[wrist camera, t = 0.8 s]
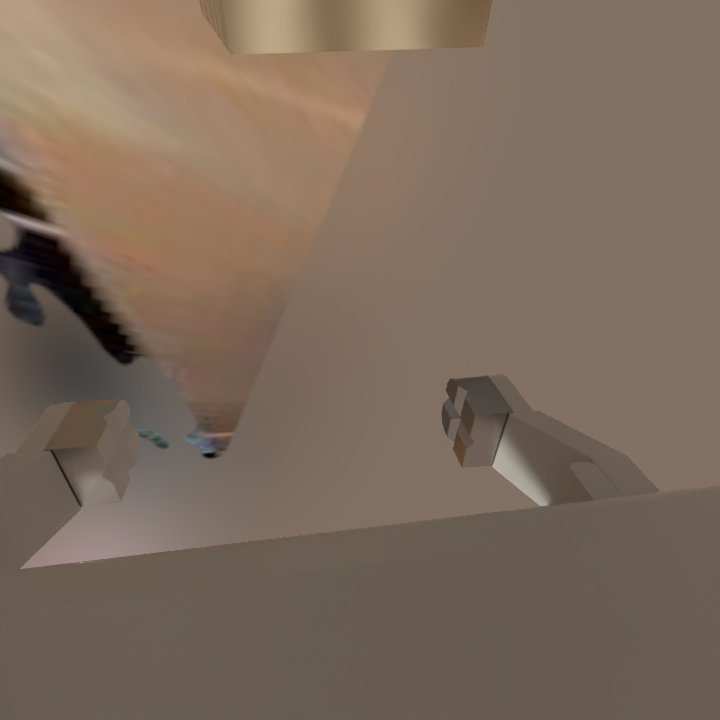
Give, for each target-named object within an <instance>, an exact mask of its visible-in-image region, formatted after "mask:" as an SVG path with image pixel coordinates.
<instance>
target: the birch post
mask: <svg viewBox="0 0 720 720" xmlns="http://www.w3.org/2000/svg"><path fill="white" fill-rule="evenodd" d="M200 3H201V8H202V13H203V15H204V16H205V18H206V19H207V21H208V22H209V24H210V25H211V26H212V28H213V29H214V31H215V32H216V34H217V35H218V37H219V38H220V40H221V41H222V42H223V44H224V45H225V47H226V48H227V50H228V51H229V53H230V54H263V53H298V52H332V51H367V50H401V49H436V48H470V47H484V43H485V37H486V32H487V26H488V20H489V14H490V8H491V3H492V0H200Z"/></svg>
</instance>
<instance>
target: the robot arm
mask: <svg viewBox="0 0 720 720" xmlns="http://www.w3.org/2000/svg"><path fill="white" fill-rule="evenodd" d="M446 392H447V394H448V396H449V398H448V399H447V400H446V401H445V402H444V403H443V408H442V424H443V427H444V431H445V433H446V435H447V437H448V438H450V439H451V440H453V441H454V446H453V450H454V452H455V454H456V456H457V459H458V461H459V463H460V465H461V467H462V468H464V467H478V466H491V465H493V466H492V467H493V468H494V469H496V470H497V471H498V472H499V473H500V474H502V475H503V476H504V477H505V478H507V479H508V480H509V481H510V482H511V483H513V484H514V485H515V486H516V487H518V488H519V489H520V490H521V491H523V492H524V493H525V494H526V495H528V496H529V497H530V498H531V499H532V500H534V501H535V502H536V503H537V504H539V505H540V507H532V508H524V509H515V510H507V511H499V512H492V513H483V514H474V515H467V516H458V517H449V518H441V519H433V520H424V521H416V522H408V523H400V524H392V525H383V526H375V527H366V528H357V529H349V530H341V531H333V532H325V533H316V534H308V535H300V536H291V537H283V538H275V539H266V540H259V541H251V542H242V543H233V544H225V545H217V546H209V547H200V548H192V549H184V550H176V551H167V552H159V553H151V554H142V555H135V556H126V557H117V558H109V559H101V560H93V561H84V562H77V563H68V564H60V565H51V566H43V567H35V568H27V569H20V568H21V567H22V566H23V565H24V564H25V563H26V562H27V561H28V560H29V559H30V558H31V557H32V556H33V555H34V554H35V553H36V552H37V551H38V550H39V549H40V548H41V547H43V546H44V545H45V544H46V543H47V542H48V541H49V540H50V539H51V538H52V537H53V536H54V535H55V534H56V533H57V532H58V531H59V530H60V529H61V528H62V527H63V526H64V525H65V524H66V523H67V522H68V521H69V520H70V519H71V518H72V517H73V516H74V515H76V514H77V513H78V511H80V510H81V508H80V507H86V506H94V505H102V504H110V503H118V502H121V501H122V498H123V496H124V493H125V490H126V488H127V485H128V483H129V480H130V478H129V476H128V473H127V471H128V470H129V469H130V468H131V467H133V466H134V465H135V464H136V461H137V458H138V455H139V445H140V442H139V434H138V431H137V428H136V426H134V425H133V424H132V423H130V422H128V418H129V416H130V414H131V411H130V409H129V406H128V404H127V402H125V401H124V400H107V401H106V400H105V401H84V402H68V403H54V404H52V405H50V406H49V407H48V408H47V409H46V411H45V412H44V413H43V415H42V416H41V418H40V419H39V420H38V422H37V423H36V425H35V426H34V427H33V429H32V430H31V432H30V433H29V434H28V436H27V437H26V439H25V440H24V441H23V443H22V444H21V446H20V447H19V448H18V450H17V451H16V453H13V454H7V455H5V456H3V457H1V458H0V720H720V485H714V486H706V487H698V488H691V489H681V490H673V491H665V492H660V491H659V490H658V489H657V487H656V486H655V485H654V484H653V483H652V482H651V481H650V480H649V479H648V478H647V477H646V476H645V474H643V472H642V471H641V470H640V469H639V468H638V467H637V466H636V465H635V464H634V463H633V462H632V460H631V459H630V458H629V457H628V456H626V455H624V454H622V453H620V452H618V451H616V450H614V449H612V448H610V447H609V446H607V445H605V444H602V443H601V442H599V441H597V440H595V439H593V438H591V437H589V436H587V435H585V434H583V433H581V432H579V431H577V430H575V429H573V428H571V427H570V426H567V425H566V424H564V423H562V422H560V421H558V420H556V419H554V418H552V417H550V416H548V415H546V414H544V413H542V412H540V411H533V410H532V408H531V407H530V406H529V405H528V403H527V402H526V401H525V399H524V398H523V397H522V396H521V394H520V393H519V392H518V391H517V389H516V388H515V387H514V385H513V384H512V383H511V382H510V380H509V379H508V378H507V376H505V375H503V374H496V375H486V376H480V377H466V378H451V379H450V380H449V381H448V383H447V387H446Z"/></svg>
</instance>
